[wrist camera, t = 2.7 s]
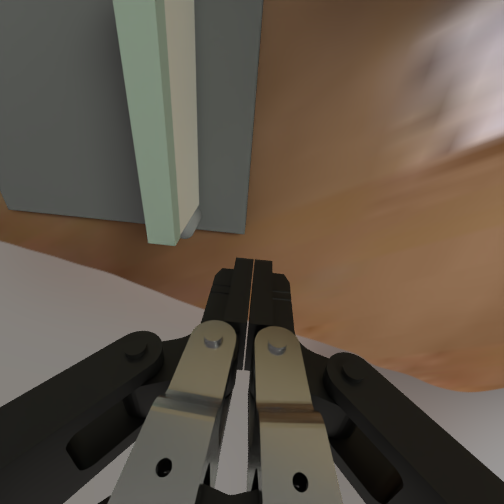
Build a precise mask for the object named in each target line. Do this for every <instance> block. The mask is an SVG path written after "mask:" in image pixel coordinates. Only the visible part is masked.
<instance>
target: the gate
mask: <svg viewBox="0 0 504 504" xmlns="http://www.w3.org/2000/svg"><path fill="white" fill-rule="evenodd" d="M113 6H114V13H115V20H116V27H117V34H118V40H119V47H120V54H121V61H122V68H123V74H124V81H125V88H126V95H127V102H128V108H129V115H130V122H131V129H132V136H133V143H134V149H135V156H136V163H137V170H138V177H139V183H140V190H141V197H142V204H143V211H144V217H145V224H146V231H147V238H148V243H153V244H162V245H172V246H176V244H177V242H178V241H179V239H180V237H181V236H180V235H181V233H182V232H183V230H184V228H185V227H186V225H187V223H188V222H189V220H190V218H191V217H192V215H193V214H194V212H195V210H196V209H197V207H198V205H199V179H198V138H197V96H196V55H195V14H194V0H113Z"/></svg>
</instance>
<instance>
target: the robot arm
mask: <svg viewBox="0 0 504 504" xmlns="http://www.w3.org/2000/svg"><path fill="white" fill-rule="evenodd" d="M252 269H253V259H246V258H236V262H235V267H234V269H226V268H222V269H221V270H220V271H219V272H218V273H217V274H216V275H215V278H214V281H213V286H212V288H211V291H210V295H209V298H208V301H207V305H206V308H205V312H204V315H203V318H202V321H201V324H199V325H198V326H197V327H196V328H195V329H194V330H193V331H192V333H191V334H190V335H188V336H186V337H183V338H179V339H175V340H169V341H163V342H162V341H161V339H160V338H159V336H157V335H156V334H154V333H152V332H149V331H137V332H133V333H130V334H128V335H126V336H124V337H122V338H121V339H119V340H117V341H115V342H113V343H112V344H110V345H108V346H106V347H105V348H103V349H101V350H99V351H98V352H96V353H94V354H92V355H91V356H89V357H87V358H85V359H84V360H82V361H80V362H78V363H77V364H75V365H73V366H72V367H70V368H68V369H66V370H64V371H63V372H61V373H60V374H58V375H56V376H54V377H52V378H51V379H49V380H47V381H45V382H44V383H42V384H40V385H38V386H37V387H35V388H33V389H32V390H30V391H28V392H26V393H24V394H23V395H21V396H19V397H17V398H16V399H14V400H12V401H10V402H9V403H7V404H5V405H3V406H2V407H0V504H63V503H64V502H65V501H67V500H68V499H69V498H70V497H71V496H72V495H74V494H75V493H76V492H77V491H78V490H79V489H80V488H82V487H83V486H84V485H85V484H86V483H87V482H89V481H90V480H91V479H92V478H93V477H94V476H95V475H97V474H98V473H99V472H100V471H101V470H102V469H103V468H104V467H106V466H107V465H108V464H109V463H110V462H112V461H113V460H114V459H115V458H116V457H117V456H118V455H120V454H121V453H122V452H123V451H124V450H125V449H127V448H128V447H129V446H130V445H131V444H132V443H134V442H135V441H136V442H135V444H134V446H133V448H132V450H131V453H130V455H129V457H128V459H127V461H126V464H125V466H124V468H123V470H122V473H121V475H120V477H119V479H118V482H117V484H116V486H115V488H114V490H113V492H112V495H111V496H109V497H107V498H106V499H104V500H103V501H101V502H100V503H98V504H343V502H342V497H341V492H340V488H339V484H338V479H337V475H336V471H335V466H334V463H335V464H336V465H337V467H338V468H339V469H340V471H341V472H342V473H343V474H344V476H345V477H346V478H347V480H348V481H349V482H350V484H351V485H352V486H353V488H355V490H356V491H357V493H358V494H359V495H360V497H361V498H362V499H363V500H364V502H365V503H366V504H504V482H503V481H502V480H501V479H500V478H499V477H497V476H496V475H495V474H494V473H493V472H492V471H490V470H489V469H488V468H487V467H486V466H485V465H484V464H483V463H481V462H480V461H479V460H478V459H477V458H476V457H475V456H473V455H472V454H471V453H470V452H469V451H468V450H466V448H464V447H463V446H462V445H461V444H460V443H458V441H456V440H455V439H454V438H453V437H452V436H451V435H450V434H448V433H447V432H446V431H445V430H444V429H443V428H442V427H440V426H439V425H438V424H437V423H436V422H435V421H434V420H432V419H431V418H430V417H429V416H428V415H427V414H426V413H424V412H423V411H422V410H421V409H420V408H419V407H418V406H416V405H415V404H414V403H413V402H412V401H411V400H410V399H409V398H407V397H406V396H405V395H404V394H403V393H402V392H401V391H399V390H398V389H397V388H396V387H395V386H394V385H393V384H391V383H390V382H389V381H388V380H387V379H386V378H384V377H383V376H382V375H381V374H380V373H379V372H378V371H377V370H375V369H374V368H373V367H372V366H371V365H370V364H369V363H367V362H366V361H365V360H364V359H362V358H361V357H359V356H357V355H354V354H351V353H346V352H342V353H337V354H334V355H333V356H331V357H330V359H329V358H326V357H324V356H321V355H319V354H316V353H314V352H312V351H310V350H308V349H307V348H305V347H304V346H303V345H302V344H301V343H300V342H299V341H298V339H297V337H296V335H295V332H294V323H293V313H292V303H291V294H290V283H289V281H288V280H287V278H286V277H285V275H284V274H276V273H272V261H266V260H256V259H255V264H254V274H253V284H252V294H251V304H250V315H249V326H248V336H247V347H246V358H245V369H244V370H248V371H250V380H249V389H248V468H247V469H248V470H247V492H244V493H240V494H236V495H227V494H225V493H223V492H221V491H219V490H216V489H214V487H215V481H216V476H217V470H218V462H219V456H220V451H221V446H222V440H223V436H224V430H225V426H226V421H227V416H228V411H229V406H230V401H231V397H232V391H233V388H234V385H235V379H236V371H237V370H242V369H243V368H242V367H243V359H244V349H245V339H246V328H247V319H248V309H249V299H250V289H251V279H252ZM333 461H334V462H333Z"/></svg>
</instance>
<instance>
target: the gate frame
mask: <svg viewBox="0 0 504 504" xmlns="http://www.w3.org/2000/svg"><path fill="white" fill-rule="evenodd" d="M262 13H263V0H194V14H195V55H196V96H197V138H198V179H199V205H198V207H197V209H196V210H195V212H194V214H193V215H192V217H191V218H190V220H189V222H188V223H187V225H186V227H185V228H184V230H183V232H182V233H181V235H180V236H181V237H180V238H183V239H187V238H190V237H191V236H192V235H193V233H194V231H195V229H199V230H209V231H218V232H228V233H237V234H244V233H245V225H246V213H247V200H248V188H249V175H250V163H251V150H252V138H253V125H254V113H255V100H256V88H257V75H258V63H259V50H260V38H261V25H262ZM0 191H1V194H2V196H3V198H4V200H5V203H6V205H7V207H8V209H9V210H19V211H28V212H38V213H47V214H57V215H66V216H76V217H85V218H95V219H104V220H114V221H123V222H133V223H142V224H145V217H144V211H143V204H142V197H141V190H140V183H139V177H138V170H137V163H136V156H135V149H134V143H133V136H132V129H131V122H130V115H129V108H128V102H127V95H126V88H125V81H124V74H123V68H122V61H121V54H120V47H119V40H118V34H117V27H116V20H115V13H114V6H113V0H0Z"/></svg>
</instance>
